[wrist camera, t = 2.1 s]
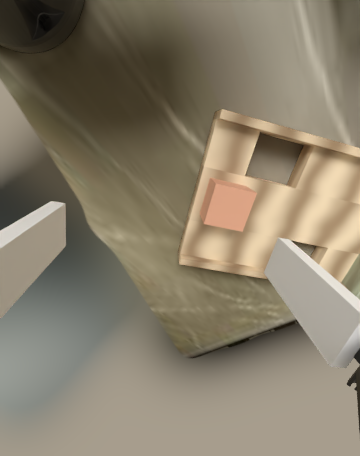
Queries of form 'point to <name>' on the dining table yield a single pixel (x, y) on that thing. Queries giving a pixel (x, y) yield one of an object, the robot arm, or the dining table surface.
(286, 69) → the dining table surface
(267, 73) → the dining table surface
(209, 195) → the block
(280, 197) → the box
